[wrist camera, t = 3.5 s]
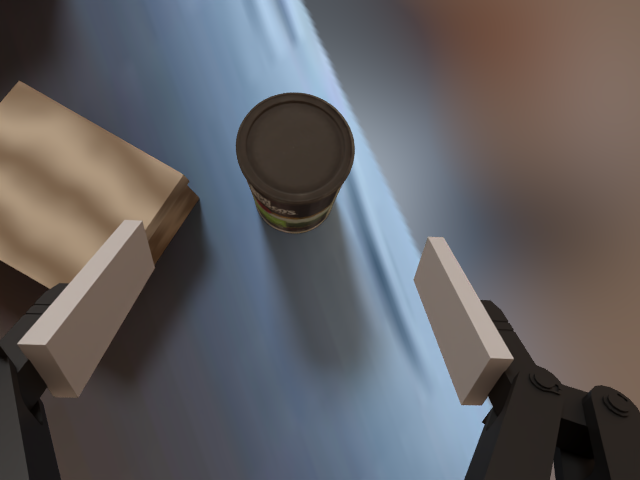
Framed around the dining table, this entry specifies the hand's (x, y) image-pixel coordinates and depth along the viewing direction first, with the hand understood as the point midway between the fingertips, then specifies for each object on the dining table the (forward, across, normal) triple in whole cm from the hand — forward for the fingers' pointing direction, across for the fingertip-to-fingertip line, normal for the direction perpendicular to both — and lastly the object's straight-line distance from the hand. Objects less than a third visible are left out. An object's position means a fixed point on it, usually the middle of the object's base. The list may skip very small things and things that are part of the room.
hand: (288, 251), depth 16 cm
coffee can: (+26, 0, -10) cm, 28 cm away
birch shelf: (+23, -24, -12) cm, 36 cm away
